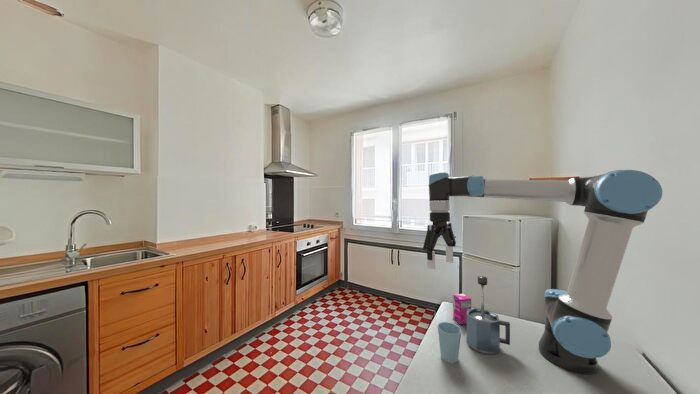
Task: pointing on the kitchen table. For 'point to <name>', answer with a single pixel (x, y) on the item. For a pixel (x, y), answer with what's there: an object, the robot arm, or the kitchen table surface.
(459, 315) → the supplement box
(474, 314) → the plunger
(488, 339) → the press carafe
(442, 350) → the cup
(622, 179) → the robot arm
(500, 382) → the kitchen table surface
